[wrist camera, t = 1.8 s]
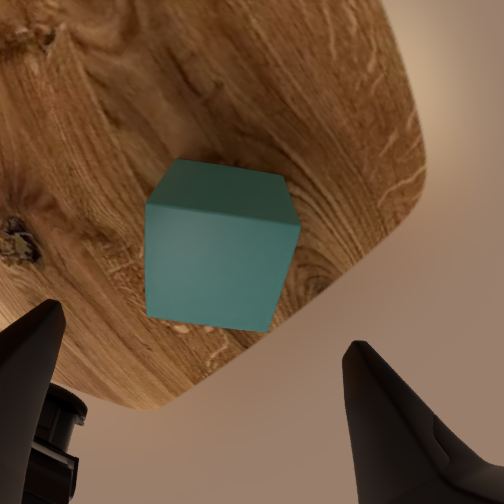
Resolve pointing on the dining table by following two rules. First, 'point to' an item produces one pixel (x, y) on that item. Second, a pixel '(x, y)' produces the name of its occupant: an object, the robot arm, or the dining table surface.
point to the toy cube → (218, 245)
